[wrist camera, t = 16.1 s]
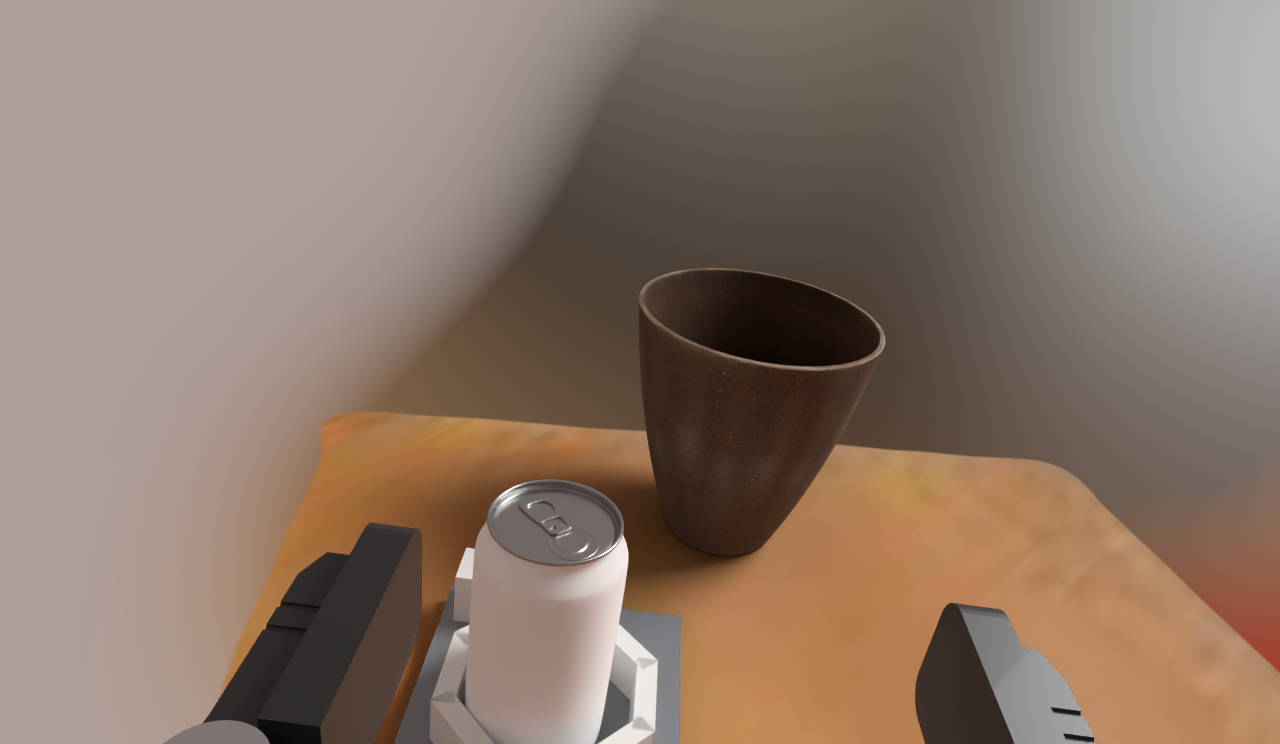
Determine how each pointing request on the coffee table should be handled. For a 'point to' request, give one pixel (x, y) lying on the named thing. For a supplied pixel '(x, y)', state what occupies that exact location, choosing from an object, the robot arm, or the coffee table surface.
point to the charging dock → (636, 696)
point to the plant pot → (745, 396)
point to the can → (545, 613)
